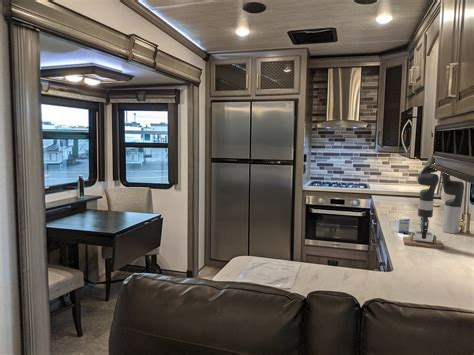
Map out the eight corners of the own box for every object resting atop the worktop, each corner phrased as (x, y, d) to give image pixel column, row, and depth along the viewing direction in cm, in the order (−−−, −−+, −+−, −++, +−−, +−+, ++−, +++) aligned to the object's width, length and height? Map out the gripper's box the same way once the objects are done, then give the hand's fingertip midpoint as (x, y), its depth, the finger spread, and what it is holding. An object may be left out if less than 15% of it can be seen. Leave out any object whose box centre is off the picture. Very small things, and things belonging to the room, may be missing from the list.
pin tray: (402, 238, 224) (403, 230, 224) (440, 242, 217) (441, 234, 217) (404, 244, 211) (405, 235, 211) (444, 249, 204) (445, 240, 204)
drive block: (414, 237, 218) (415, 230, 218) (431, 240, 214) (432, 232, 214) (414, 239, 214) (414, 232, 213) (431, 242, 210) (432, 235, 209)
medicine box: (398, 233, 237) (399, 219, 236) (393, 231, 241) (394, 218, 240) (408, 232, 239) (410, 219, 238) (404, 230, 243) (405, 217, 242)
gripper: (417, 205, 220) (414, 233, 222) (419, 209, 207) (417, 239, 209) (431, 206, 217) (428, 235, 219) (434, 211, 204) (432, 241, 206)
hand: (423, 237), depth 214 cm, fingers closed on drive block, 5 cm apart
